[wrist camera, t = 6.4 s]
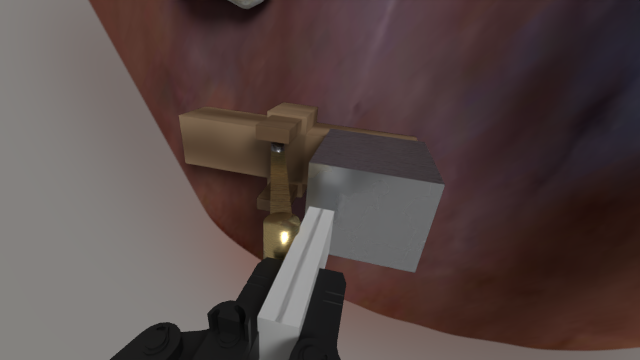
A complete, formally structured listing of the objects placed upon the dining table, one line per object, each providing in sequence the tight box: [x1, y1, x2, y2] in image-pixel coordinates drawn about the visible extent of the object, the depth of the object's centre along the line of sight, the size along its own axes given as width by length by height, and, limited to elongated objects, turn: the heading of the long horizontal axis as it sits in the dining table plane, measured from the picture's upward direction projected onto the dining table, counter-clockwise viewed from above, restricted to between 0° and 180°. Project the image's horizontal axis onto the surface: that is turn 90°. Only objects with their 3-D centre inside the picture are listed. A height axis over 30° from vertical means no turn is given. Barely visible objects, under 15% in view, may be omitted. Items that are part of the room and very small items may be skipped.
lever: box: [263, 141, 300, 261], centre depth 16 cm, size 4×2×11 cm, turn 175°
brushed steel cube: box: [305, 128, 445, 273], centre depth 18 cm, size 6×7×7 cm
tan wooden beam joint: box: [179, 103, 417, 211], centre depth 23 cm, size 7×20×7 cm, turn 84°
